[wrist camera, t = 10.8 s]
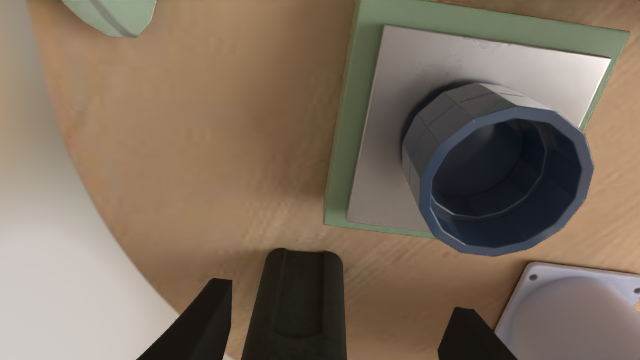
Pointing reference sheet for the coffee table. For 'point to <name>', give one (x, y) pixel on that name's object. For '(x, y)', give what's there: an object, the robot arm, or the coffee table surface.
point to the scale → (413, 11)
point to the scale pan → (440, 76)
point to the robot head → (114, 15)
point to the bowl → (495, 169)
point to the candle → (298, 309)
